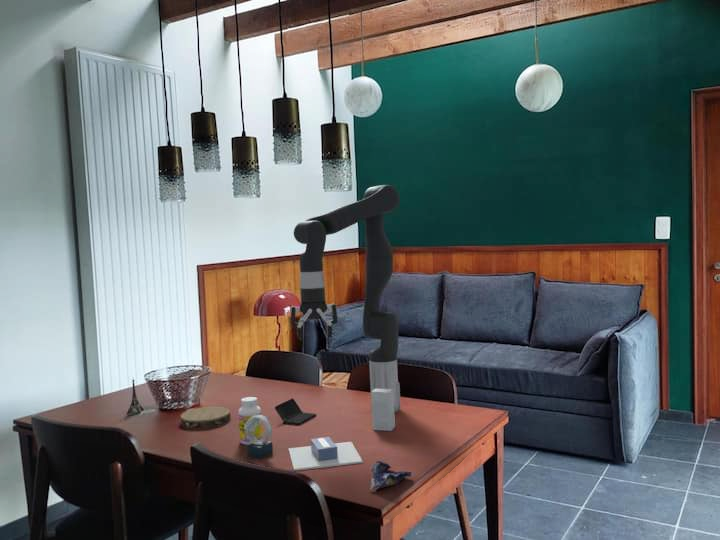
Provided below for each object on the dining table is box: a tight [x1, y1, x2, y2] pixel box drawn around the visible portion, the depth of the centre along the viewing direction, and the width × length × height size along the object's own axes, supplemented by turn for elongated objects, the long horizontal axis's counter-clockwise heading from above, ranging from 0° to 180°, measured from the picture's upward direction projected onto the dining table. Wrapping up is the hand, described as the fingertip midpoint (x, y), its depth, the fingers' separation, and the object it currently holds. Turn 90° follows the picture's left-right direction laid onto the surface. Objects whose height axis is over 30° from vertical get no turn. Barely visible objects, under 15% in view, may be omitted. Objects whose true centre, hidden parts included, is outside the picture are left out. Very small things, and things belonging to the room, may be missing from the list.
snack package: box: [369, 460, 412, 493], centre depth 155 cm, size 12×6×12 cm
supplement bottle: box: [237, 396, 263, 446], centre depth 189 cm, size 7×7×13 cm
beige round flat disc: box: [180, 406, 231, 429], centre depth 212 cm, size 16×16×3 cm
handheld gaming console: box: [274, 398, 317, 426], centre depth 210 cm, size 12×7×10 cm
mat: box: [287, 441, 363, 472], centre depth 174 cm, size 18×16×1 cm
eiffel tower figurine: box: [120, 378, 156, 421], centre depth 225 cm, size 15×10×13 cm
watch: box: [244, 414, 274, 460], centre depth 177 cm, size 6×8×11 cm
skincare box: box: [370, 388, 396, 432], centre depth 195 cm, size 6×4×12 cm
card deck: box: [310, 436, 338, 461], centre depth 174 cm, size 9×5×3 cm, turn 17°
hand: (314, 338), depth 197 cm, fingers open, 8 cm apart
